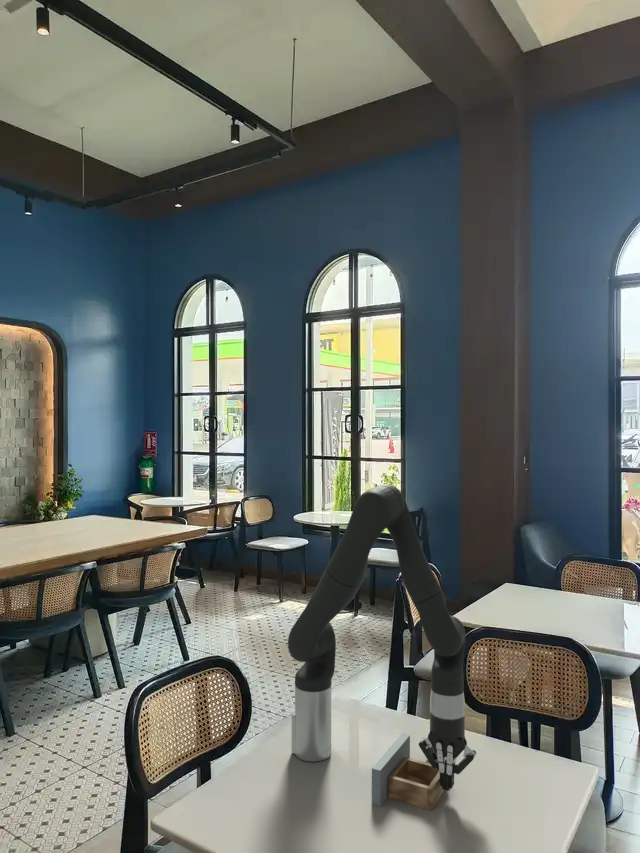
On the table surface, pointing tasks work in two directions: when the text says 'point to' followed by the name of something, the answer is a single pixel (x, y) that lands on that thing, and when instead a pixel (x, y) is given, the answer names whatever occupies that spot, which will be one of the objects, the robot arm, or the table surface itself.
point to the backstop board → (388, 768)
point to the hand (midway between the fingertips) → (447, 788)
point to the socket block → (415, 783)
